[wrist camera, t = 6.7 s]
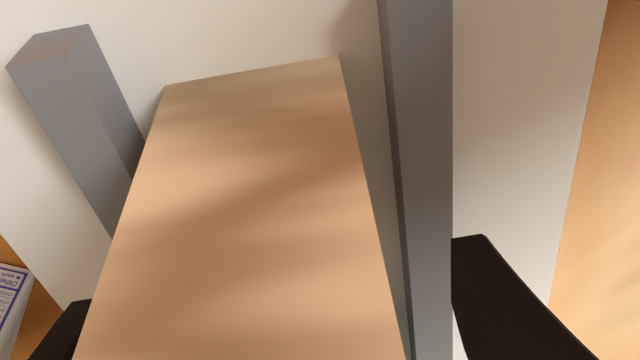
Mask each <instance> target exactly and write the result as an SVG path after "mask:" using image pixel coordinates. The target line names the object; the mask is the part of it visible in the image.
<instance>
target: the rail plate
mask: <svg viewBox="0 0 640 360" xmlns="http://www.w3.org/2000/svg"><path fill="white" fill-rule="evenodd" d="M607 3H608V0H0V234H1V236H2V237H3V238H4V239H5V240H6V242H7V243H8V244H9V245H10V247H11V248H12V249H13V250H14V251H15V253H16V254H17V255H18V256H19V258H20V259H21V260H22V261H23V262H24V264H25V265H26V266H27V267H28V269H29V270H30V271H31V272H32V273H33V275H34V276H35V277H36V278H37V279H38V281H39V282H40V283H41V284H42V286H43V287H44V288H45V289H46V290H47V292H48V293H49V294H50V295H51V297H52V298H53V299H54V300H55V301H56V303H57V304H58V305H59V306H60V308H61V309H62V310H63V311H65V310H66V308H67V307H68V306H69V305H70V303H71V302H73V301H79V300H85V299H91V298H93V296H94V293H95V290H96V287H97V284H98V281H99V278H100V275H101V272H102V269H103V267H104V264H105V261H106V258H107V255H108V252H109V249H110V246H111V243H112V240H113V237H114V234H115V231H116V228H117V225H118V223H119V220H120V217H121V214H122V211H123V208H124V205H125V202H126V199H127V196H128V193H129V190H130V187H131V184H132V181H133V179H134V176H135V173H136V170H137V167H138V164H139V161H140V158H141V155H142V152H143V149H144V146H145V143H146V140H147V137H148V135H149V132H150V129H151V126H152V123H153V120H154V117H155V114H156V111H157V108H158V105H159V102H160V99H161V96H162V93H163V90H164V88H165V85H169V84H174V83H180V82H186V81H191V80H197V79H203V78H208V77H214V76H220V75H225V74H231V73H237V72H242V71H248V70H254V69H259V68H265V67H271V66H276V65H282V64H288V63H293V62H299V61H305V60H310V59H316V58H322V57H327V56H333V55H338V56H339V60H340V65H341V69H342V74H343V78H344V83H345V87H346V92H347V96H348V101H349V105H350V110H351V114H352V119H353V123H354V128H355V132H356V137H357V141H358V146H359V151H360V155H361V160H362V164H363V169H364V173H365V178H366V182H367V187H368V191H369V196H370V200H371V205H372V209H373V214H374V218H375V223H376V227H377V232H378V236H379V241H380V245H381V250H382V254H383V259H384V264H385V268H386V273H387V277H388V282H389V286H390V291H391V295H392V300H393V304H394V309H395V313H396V318H397V322H398V327H399V331H400V336H401V340H402V345H403V349H404V354H405V358H406V360H468V358H467V356H466V353H465V351H464V347H463V344H462V340H461V337H460V333H459V330H458V326H457V322H456V319H455V315H454V311H453V307H452V304H451V238H457V237H463V236H469V235H475V234H481V233H482V234H483V235H485V236H486V237H487V238H488V239H489V240H490V242H491V243H492V244H493V245H494V247H495V248H496V249H497V250H498V252H499V253H500V254H501V255H502V257H503V258H504V259H505V260H506V262H507V263H508V264H509V265H510V266H511V268H512V269H513V270H514V271H515V272H516V273H517V275H518V276H519V277H520V278H521V279H522V280H523V281H524V283H525V284H526V285H527V286H528V287H529V288H530V289H531V291H532V292H533V293H534V294H535V295H536V296H537V297H538V298H539V299H540V300H541V302H542V303H543V304H544V305H545V306H546V307H548V302H549V297H550V292H551V287H552V282H553V277H554V272H555V266H556V261H557V256H558V251H559V246H560V241H561V236H562V231H563V226H564V221H565V216H566V211H567V206H568V201H569V196H570V191H571V186H572V180H573V175H574V170H575V165H576V160H577V155H578V150H579V145H580V140H581V135H582V130H583V125H584V120H585V115H586V110H587V105H588V100H589V94H590V89H591V84H592V79H593V74H594V69H595V64H596V59H597V54H598V49H599V44H600V39H601V34H602V29H603V24H604V19H605V14H606V9H607Z"/></svg>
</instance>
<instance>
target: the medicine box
mask: <svg viewBox="0 0 640 360" xmlns="http://www.w3.org/2000/svg"><path fill="white" fill-rule="evenodd" d="M34 280H35V276H34V275H33V273H32V272H31V271H30V270H29V269H26V268H21V267H17V266H12V265H8V264H3V263H0V360H9V358H10V356H11V353H12V351H13V348H14V345H15V342H16V339H17V335H18V332H19V329H20V326H21V322H22V319H23V316H24V313H25V309H26V306H27V303H28V300H29V297H30V294H31V290H32V287H33V284H34Z"/></svg>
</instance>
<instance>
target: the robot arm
mask: <svg viewBox="0 0 640 360" xmlns="http://www.w3.org/2000/svg"><path fill="white" fill-rule="evenodd" d="M92 299H93V298H91V299H85V300H79V301H73V302H71V303H70V305H69V306H68V307H67V308H66V310H65V311H64V312H63V313H62V315H61V316H60V317H59V319H58V320H57V321H56V323H55V324H54V325H53V327H52V328H51V329H50V331H49V332H48V333H47V335H46V336H45V337H44V339H43V340H42V341H41V343H40V344H39V345H38V347H37V348H36V349H35V351H34V352H33V353H32V355H31V356H30V357H29V359H28V360H72V358H73V355H74V352H75V349H76V346H77V343H78V340H79V337H80V334H81V331H82V328H83V325H84V322H85V319H86V316H87V314H88V311H89V308H90V305H91V302H92ZM451 304H452V307H453V311H454V315H455V319H456V322H457V326H458V330H459V333H460V337H461V340H462V344H463V347H464V351H465V353H466V356H467V358H468V360H599V359H598V358H597V357H596V356H595V355H594V354H593V353H592V352H591V351H590V350H589V349H587V348H586V347H585V346H584V345H583V344H582V343H581V342H580V341H579V340H578V339H577V338H576V337H575V336H574V335H573V334H572V333H571V332H570V331H569V330H568V329H567V328H566V327H565V326H564V325H563V323H562V322H561V321H560V320H559V319H558V318H557V317H556V316H555V315H554V314H553V313H552V312H551V311H550V310H549V309H548V308H547V307H546V306H545V305H544V304H543V303H542V302H541V300H540V299H539V298H538V297H537V296H536V295H535V294H534V293H533V292H532V291H531V289H530V288H529V287H528V286H527V285H526V284H525V283H524V281H523V280H522V279H521V278H520V277H519V276H518V275H517V273H516V272H515V271H514V270H513V269H512V268H511V266H510V265H509V264H508V263H507V262H506V260H505V259H504V258H503V257H502V255H501V254H500V253H499V252H498V250H497V249H496V248H495V247H494V245H493V244H492V243H491V242H490V240H489V239H488V238H487V237H486V236H485V235H483V234H482V233H481V234H475V235H469V236H463V237H457V238H451Z"/></svg>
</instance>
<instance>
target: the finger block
mask: <svg viewBox="0 0 640 360" xmlns="http://www.w3.org/2000/svg"><path fill="white" fill-rule="evenodd" d="M72 360H406V358H405V354H404V349H403V345H402V340H401V336H400V331H399V327H398V322H397V318H396V313H395V309H394V304H393V300H392V295H391V291H390V286H389V282H388V277H387V273H386V268H385V264H384V259H383V254H382V250H381V245H380V241H379V236H378V232H377V227H376V223H375V218H374V214H373V209H372V205H371V200H370V196H369V191H368V187H367V182H366V178H365V173H364V169H363V164H362V160H361V155H360V151H359V146H358V141H357V137H356V132H355V128H354V123H353V119H352V114H351V110H350V105H349V101H348V96H347V92H346V87H345V83H344V78H343V74H342V69H341V65H340V60H339V56H338V55H333V56H327V57H322V58H316V59H310V60H305V61H299V62H293V63H288V64H282V65H276V66H271V67H265V68H259V69H254V70H248V71H242V72H237V73H231V74H225V75H220V76H214V77H208V78H203V79H197V80H191V81H186V82H180V83H174V84H169V85H165V88H164V90H163V93H162V96H161V99H160V102H159V105H158V108H157V111H156V114H155V117H154V120H153V123H152V126H151V129H150V132H149V135H148V137H147V140H146V143H145V146H144V149H143V152H142V155H141V158H140V161H139V164H138V167H137V170H136V173H135V176H134V179H133V181H132V184H131V187H130V190H129V193H128V196H127V199H126V202H125V205H124V208H123V211H122V214H121V217H120V220H119V223H118V225H117V228H116V231H115V234H114V237H113V240H112V243H111V246H110V249H109V252H108V255H107V258H106V261H105V264H104V267H103V269H102V272H101V275H100V278H99V281H98V284H97V287H96V290H95V293H94V296H93V299H92V302H91V305H90V308H89V311H88V314H87V316H86V319H85V322H84V325H83V328H82V331H81V334H80V337H79V340H78V343H77V346H76V349H75V352H74V355H73V358H72Z"/></svg>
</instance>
